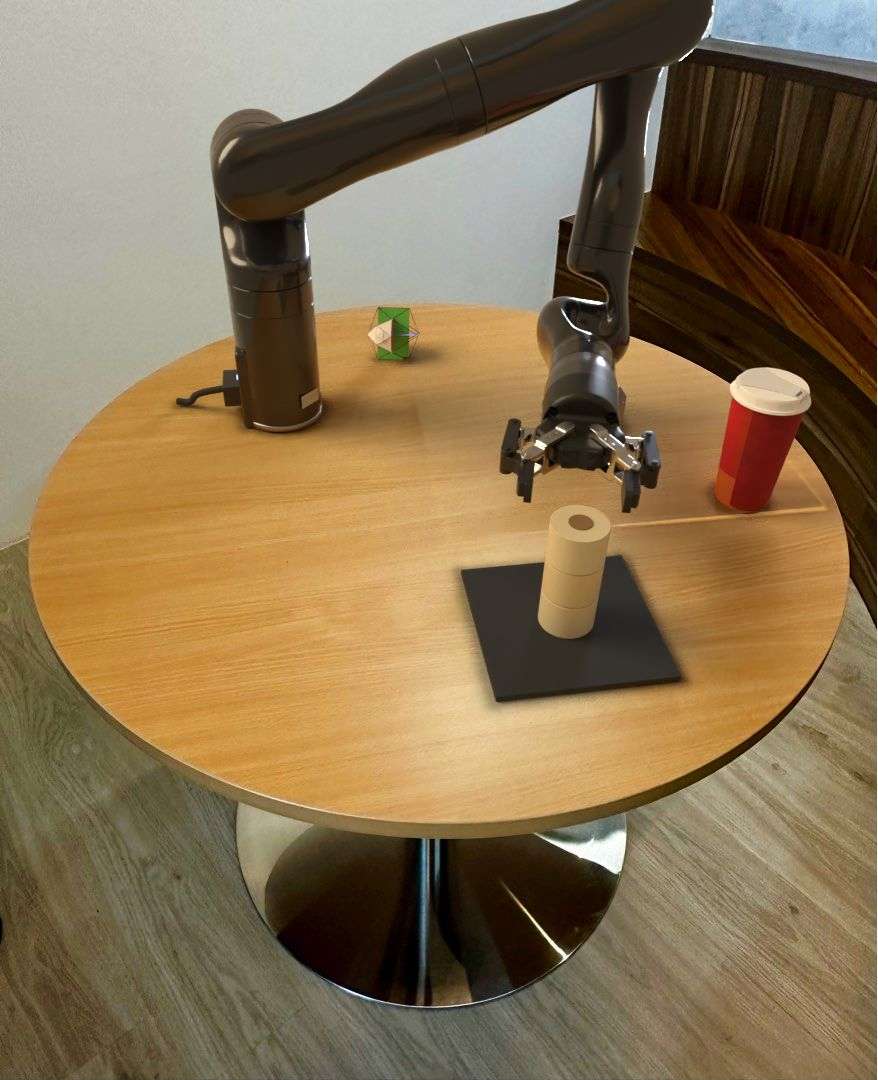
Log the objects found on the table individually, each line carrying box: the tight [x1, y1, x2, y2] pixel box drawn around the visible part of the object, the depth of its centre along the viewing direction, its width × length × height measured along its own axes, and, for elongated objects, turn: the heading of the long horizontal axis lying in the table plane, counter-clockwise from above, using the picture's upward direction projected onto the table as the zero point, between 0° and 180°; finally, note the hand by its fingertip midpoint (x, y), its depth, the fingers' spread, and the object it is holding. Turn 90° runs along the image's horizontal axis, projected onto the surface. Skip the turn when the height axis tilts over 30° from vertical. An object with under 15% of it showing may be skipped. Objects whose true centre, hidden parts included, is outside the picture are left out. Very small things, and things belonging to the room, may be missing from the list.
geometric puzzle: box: [365, 306, 421, 361], centre depth 117 cm, size 7×7×8 cm
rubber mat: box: [460, 554, 683, 702], centre depth 79 cm, size 16×16×1 cm
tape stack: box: [538, 504, 612, 639], centre depth 76 cm, size 5×5×11 cm
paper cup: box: [714, 366, 812, 515], centre depth 91 cm, size 8×8×14 cm
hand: (577, 499), depth 76 cm, fingers open, 8 cm apart
